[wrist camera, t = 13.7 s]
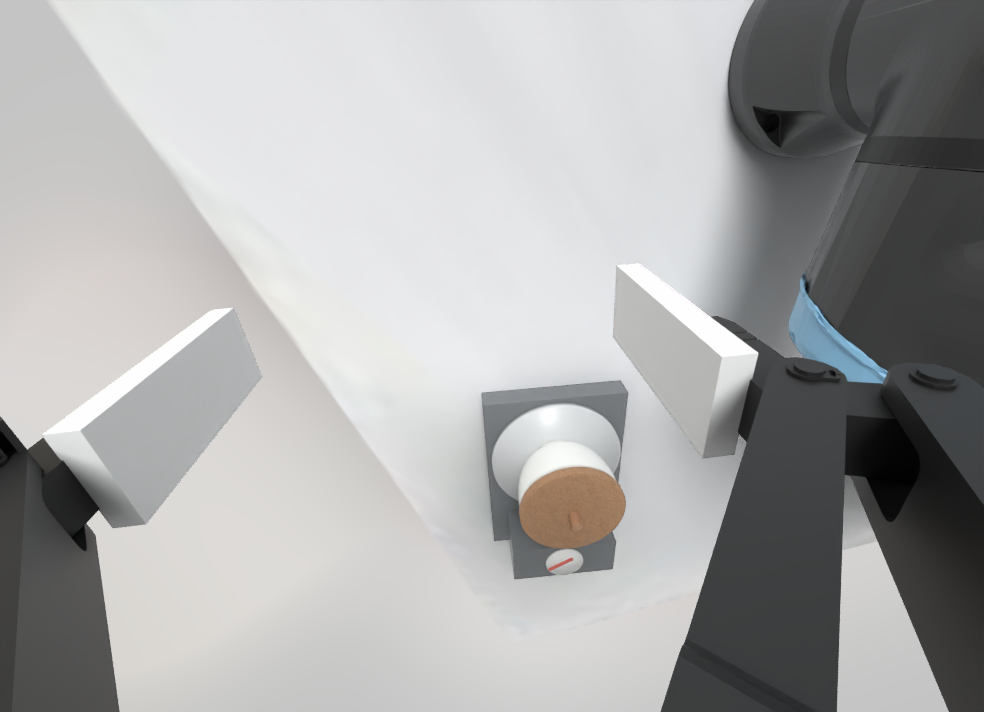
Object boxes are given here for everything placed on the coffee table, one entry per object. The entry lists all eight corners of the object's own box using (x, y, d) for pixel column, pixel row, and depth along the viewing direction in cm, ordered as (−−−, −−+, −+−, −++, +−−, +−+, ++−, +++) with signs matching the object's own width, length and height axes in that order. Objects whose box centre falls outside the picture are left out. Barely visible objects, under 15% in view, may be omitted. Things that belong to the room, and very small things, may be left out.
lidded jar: (589, 410, 46) (617, 471, 38) (612, 476, 51) (642, 543, 43) (497, 443, 47) (506, 509, 39) (529, 504, 52) (542, 575, 44)
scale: (620, 380, 49) (652, 429, 41) (606, 514, 59) (629, 573, 51) (481, 392, 48) (486, 445, 40) (493, 525, 59) (498, 587, 51)
